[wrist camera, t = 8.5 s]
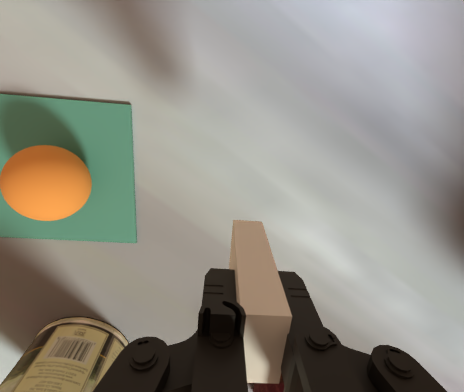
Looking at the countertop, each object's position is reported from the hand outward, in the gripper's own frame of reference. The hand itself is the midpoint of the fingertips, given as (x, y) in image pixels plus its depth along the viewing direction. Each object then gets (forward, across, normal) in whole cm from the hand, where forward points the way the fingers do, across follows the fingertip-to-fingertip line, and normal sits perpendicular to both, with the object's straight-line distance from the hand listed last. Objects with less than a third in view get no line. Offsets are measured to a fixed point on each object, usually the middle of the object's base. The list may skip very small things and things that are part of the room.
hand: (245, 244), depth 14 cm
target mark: (+9, +15, 0) cm, 17 cm away
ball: (+7, +14, 0) cm, 15 cm away
